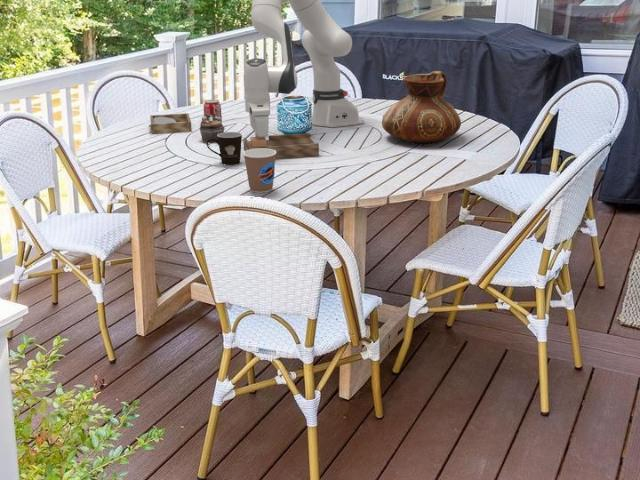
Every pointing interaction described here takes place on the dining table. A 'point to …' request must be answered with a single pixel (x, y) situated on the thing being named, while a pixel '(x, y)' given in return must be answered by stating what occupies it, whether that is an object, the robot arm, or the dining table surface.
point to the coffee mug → (228, 147)
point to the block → (258, 142)
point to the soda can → (212, 108)
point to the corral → (172, 124)
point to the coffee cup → (260, 169)
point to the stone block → (163, 120)
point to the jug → (422, 112)
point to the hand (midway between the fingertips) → (259, 143)
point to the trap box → (289, 146)
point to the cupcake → (211, 127)
